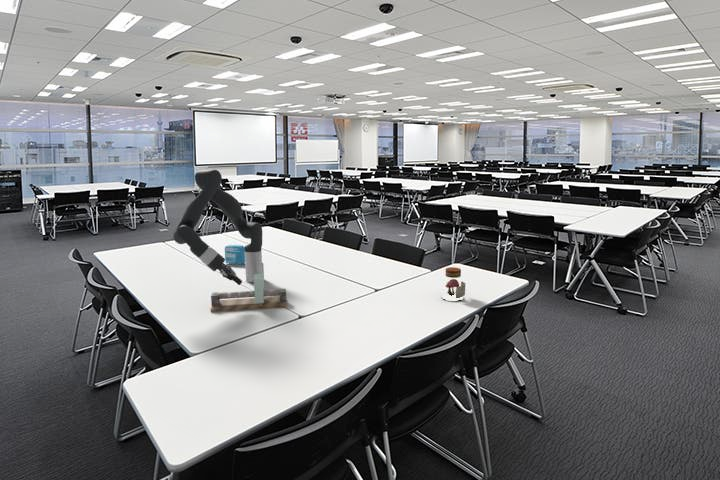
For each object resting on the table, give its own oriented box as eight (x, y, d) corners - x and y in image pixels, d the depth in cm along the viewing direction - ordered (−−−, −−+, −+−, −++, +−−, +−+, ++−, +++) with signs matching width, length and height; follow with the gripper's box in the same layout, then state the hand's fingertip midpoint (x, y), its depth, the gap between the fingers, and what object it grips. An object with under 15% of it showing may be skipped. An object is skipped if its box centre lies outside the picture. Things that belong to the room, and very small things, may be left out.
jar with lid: (439, 302, 215) (440, 271, 212) (441, 294, 227) (442, 265, 224) (464, 303, 212) (465, 273, 209) (464, 295, 224) (466, 266, 221)
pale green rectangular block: (255, 303, 207) (253, 278, 204) (255, 298, 214) (254, 274, 212) (263, 303, 207) (262, 278, 205) (264, 297, 215) (263, 273, 213)
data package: (225, 264, 289) (224, 245, 287) (229, 262, 294) (228, 244, 291) (242, 265, 286) (241, 246, 284) (245, 263, 291) (244, 245, 288)
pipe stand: (210, 311, 202) (209, 296, 200) (214, 303, 213) (213, 288, 212) (286, 307, 208) (286, 292, 206) (286, 299, 219) (285, 284, 218)
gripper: (215, 256, 197) (245, 281, 201) (219, 250, 209) (247, 273, 214) (204, 268, 197) (234, 293, 201) (208, 261, 209) (236, 285, 214)
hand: (240, 283), depth 208 cm, fingers closed
